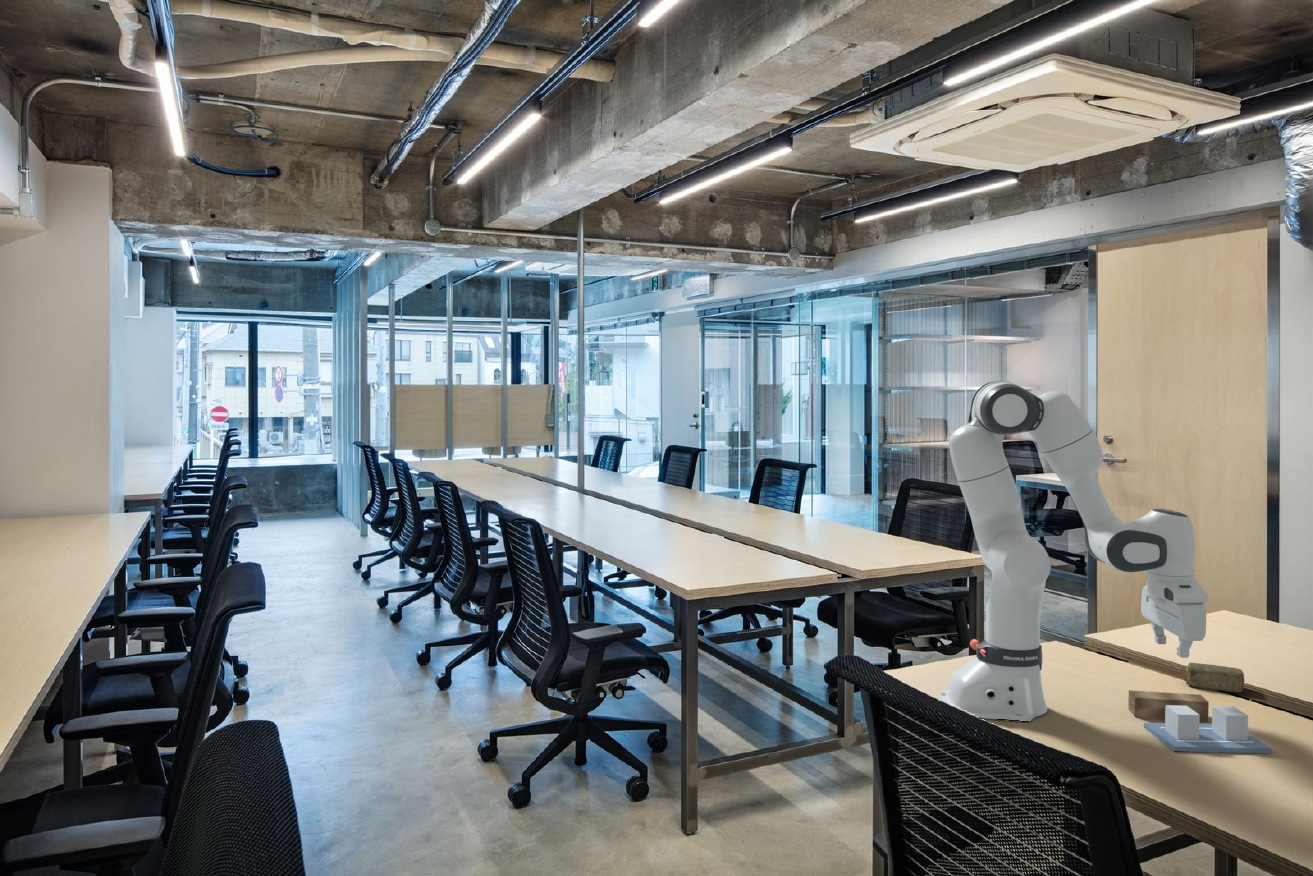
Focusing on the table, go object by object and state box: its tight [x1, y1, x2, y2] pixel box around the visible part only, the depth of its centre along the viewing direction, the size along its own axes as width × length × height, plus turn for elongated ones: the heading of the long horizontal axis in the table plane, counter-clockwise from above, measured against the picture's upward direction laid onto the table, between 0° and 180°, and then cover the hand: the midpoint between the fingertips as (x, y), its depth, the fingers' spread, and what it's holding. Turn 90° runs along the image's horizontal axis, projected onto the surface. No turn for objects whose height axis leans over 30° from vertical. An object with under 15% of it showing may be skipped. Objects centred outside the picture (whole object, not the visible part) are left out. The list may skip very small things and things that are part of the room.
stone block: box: [1184, 662, 1245, 694], centre depth 203 cm, size 6×12×5 cm, turn 61°
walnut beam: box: [1127, 689, 1209, 723], centre depth 187 cm, size 14×4×4 cm, turn 77°
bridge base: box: [1143, 705, 1273, 754], centre depth 174 cm, size 18×12×6 cm, turn 85°
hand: (1171, 650), depth 186 cm, fingers open, 8 cm apart
